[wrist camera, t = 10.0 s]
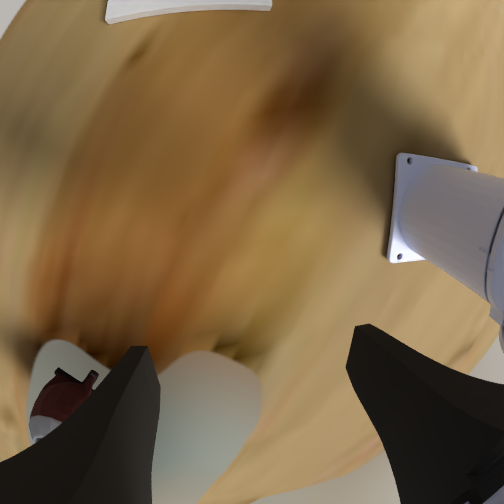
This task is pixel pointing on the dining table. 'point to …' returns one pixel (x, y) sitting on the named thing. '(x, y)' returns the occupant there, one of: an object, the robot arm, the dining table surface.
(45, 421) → the mate gourd
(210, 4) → the grey tile
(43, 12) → the dining table surface
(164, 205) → the dining table surface
